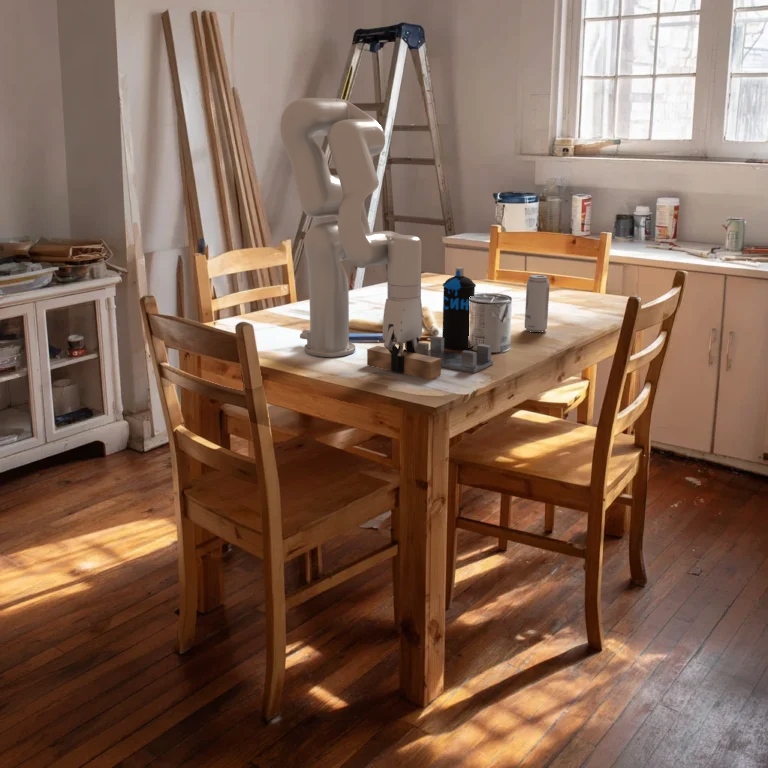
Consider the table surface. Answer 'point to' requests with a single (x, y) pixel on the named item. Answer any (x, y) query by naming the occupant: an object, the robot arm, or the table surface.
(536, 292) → the energy drink can
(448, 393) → the table surface
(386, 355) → the rail
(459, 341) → the aerosol can
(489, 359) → the cradle
